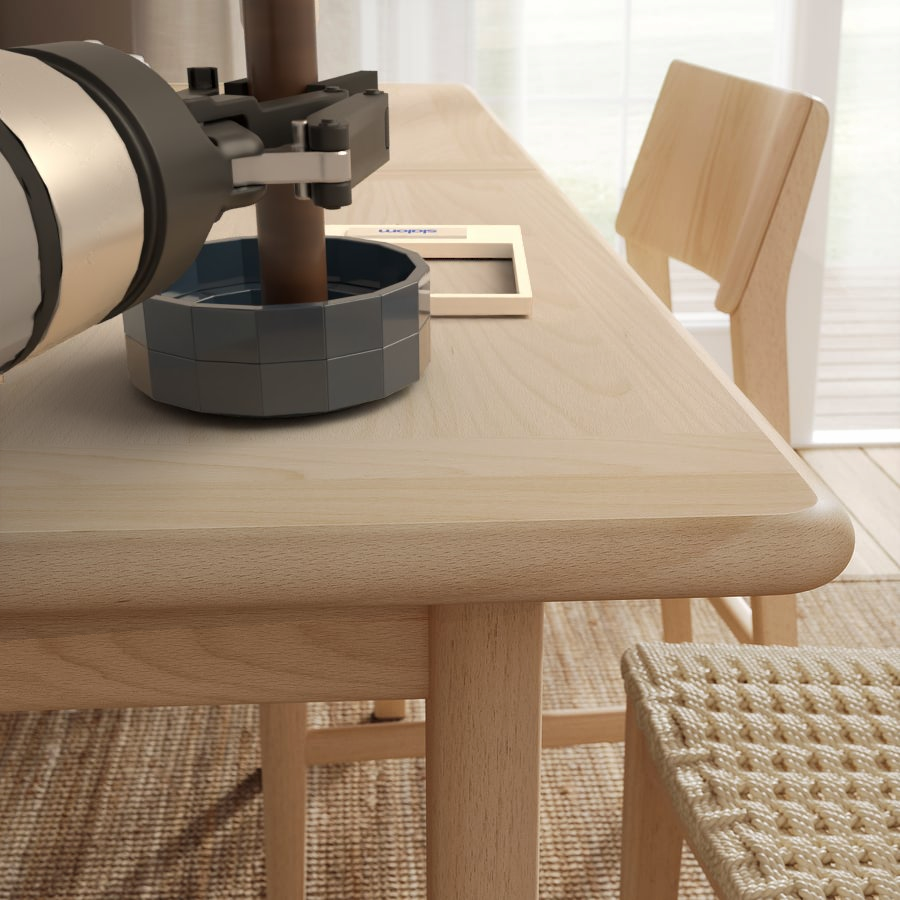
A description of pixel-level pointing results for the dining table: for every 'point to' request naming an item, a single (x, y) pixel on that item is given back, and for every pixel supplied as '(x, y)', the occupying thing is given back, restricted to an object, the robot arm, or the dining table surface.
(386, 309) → the bowl
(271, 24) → the stirring stick
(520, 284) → the photo frame
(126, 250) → the robot arm
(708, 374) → the dining table surface
